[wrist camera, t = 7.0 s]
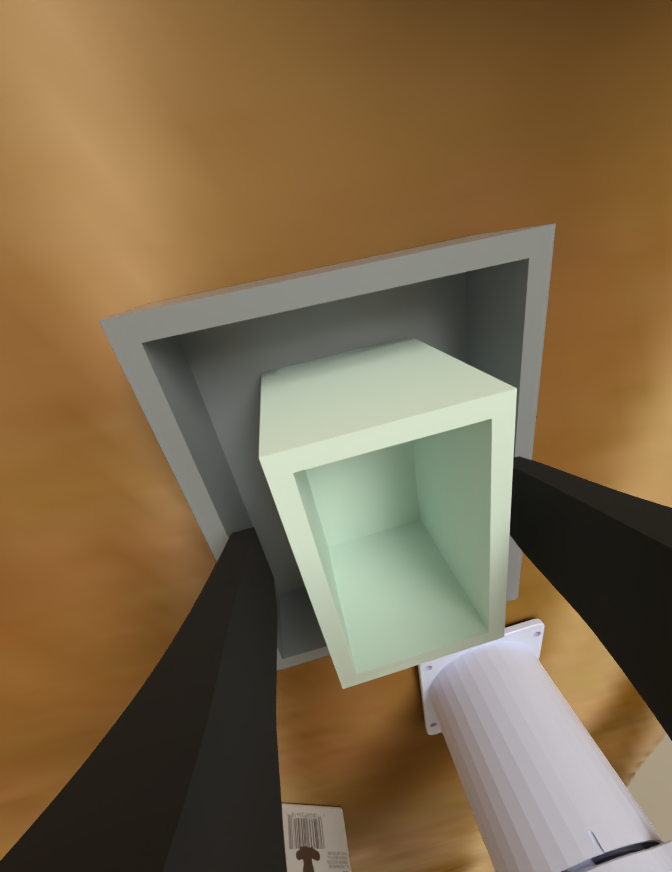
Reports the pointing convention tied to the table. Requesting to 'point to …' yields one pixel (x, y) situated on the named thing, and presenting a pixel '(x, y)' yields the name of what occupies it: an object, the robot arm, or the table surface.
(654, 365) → the table surface
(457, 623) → the small crate
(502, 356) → the large crate
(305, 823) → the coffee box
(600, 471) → the table surface
